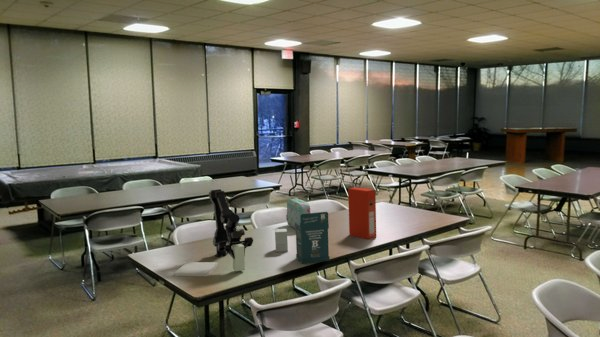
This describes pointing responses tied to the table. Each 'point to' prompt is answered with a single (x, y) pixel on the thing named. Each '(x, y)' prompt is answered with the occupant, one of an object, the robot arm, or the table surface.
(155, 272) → the table surface
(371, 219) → the file binder
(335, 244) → the table surface
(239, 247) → the sage block
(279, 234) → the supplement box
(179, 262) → the table surface
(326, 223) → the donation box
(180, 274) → the grey board
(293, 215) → the lunch box
